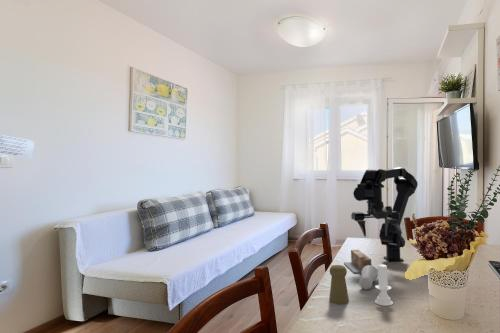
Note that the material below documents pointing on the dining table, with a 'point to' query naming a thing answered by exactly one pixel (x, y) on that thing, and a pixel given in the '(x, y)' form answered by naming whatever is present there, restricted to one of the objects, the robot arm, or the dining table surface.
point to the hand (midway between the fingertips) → (375, 236)
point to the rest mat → (353, 267)
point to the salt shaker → (368, 277)
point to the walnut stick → (359, 259)
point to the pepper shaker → (338, 285)
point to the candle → (383, 287)
